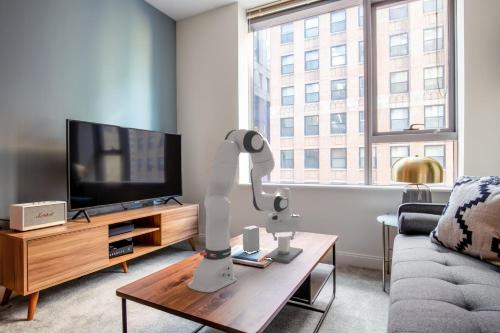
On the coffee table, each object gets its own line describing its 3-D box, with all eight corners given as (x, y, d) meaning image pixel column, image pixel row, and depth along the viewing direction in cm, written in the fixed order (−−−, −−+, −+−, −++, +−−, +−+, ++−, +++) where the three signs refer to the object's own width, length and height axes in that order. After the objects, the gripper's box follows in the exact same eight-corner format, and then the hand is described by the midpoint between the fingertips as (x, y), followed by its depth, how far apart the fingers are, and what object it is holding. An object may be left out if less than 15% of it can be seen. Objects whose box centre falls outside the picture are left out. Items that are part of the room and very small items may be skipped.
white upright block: (286, 252, 159) (286, 238, 159) (278, 250, 162) (278, 236, 162) (289, 249, 164) (289, 235, 163) (281, 248, 166) (281, 234, 166)
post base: (288, 263, 150) (288, 245, 150) (264, 259, 157) (264, 241, 156) (302, 251, 169) (302, 235, 169) (280, 247, 176) (280, 232, 176)
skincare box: (253, 249, 174) (253, 224, 173) (260, 251, 169) (259, 226, 169) (242, 252, 168) (242, 227, 168) (248, 255, 164) (248, 229, 163)
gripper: (299, 213, 167) (299, 237, 168) (264, 215, 164) (264, 239, 164) (303, 215, 161) (303, 240, 161) (267, 217, 157) (267, 242, 158)
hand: (283, 239), depth 163 cm, fingers open, 8 cm apart
